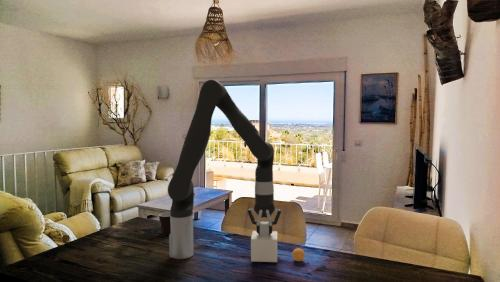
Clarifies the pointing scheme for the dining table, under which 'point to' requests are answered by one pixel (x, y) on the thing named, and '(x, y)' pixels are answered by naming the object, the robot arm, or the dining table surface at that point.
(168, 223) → the coffee mug
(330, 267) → the dining table surface
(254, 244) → the cream open-backed crate
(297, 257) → the ball
